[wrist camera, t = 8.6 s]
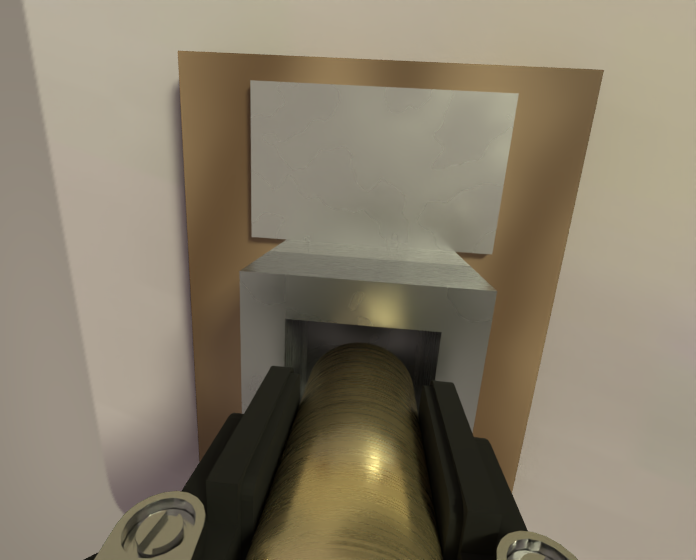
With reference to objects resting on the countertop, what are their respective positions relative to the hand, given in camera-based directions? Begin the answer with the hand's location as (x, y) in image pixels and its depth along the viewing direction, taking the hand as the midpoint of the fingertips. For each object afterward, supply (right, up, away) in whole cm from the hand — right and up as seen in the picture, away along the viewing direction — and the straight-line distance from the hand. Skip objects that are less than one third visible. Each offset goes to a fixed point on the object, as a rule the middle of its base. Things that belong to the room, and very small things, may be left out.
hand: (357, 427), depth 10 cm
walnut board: (+1, +2, +9) cm, 9 cm away
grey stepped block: (0, +2, +7) cm, 7 cm away
